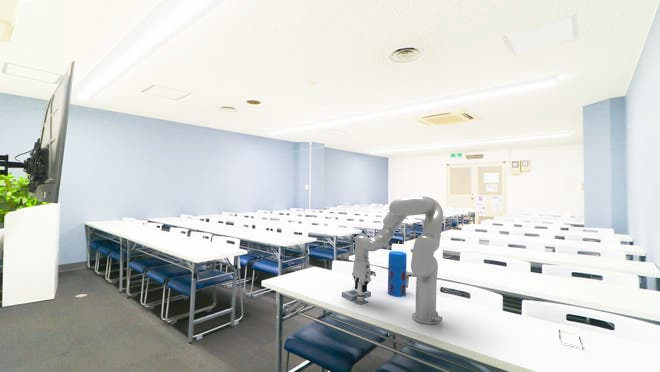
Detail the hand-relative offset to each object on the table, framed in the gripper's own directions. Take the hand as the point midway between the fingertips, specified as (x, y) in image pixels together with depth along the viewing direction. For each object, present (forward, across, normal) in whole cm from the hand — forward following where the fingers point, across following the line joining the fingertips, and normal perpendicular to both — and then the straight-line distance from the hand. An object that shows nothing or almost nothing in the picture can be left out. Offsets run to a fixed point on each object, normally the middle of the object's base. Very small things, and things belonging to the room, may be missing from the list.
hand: (360, 289), depth 163 cm
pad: (+7, 0, 0) cm, 7 cm away
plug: (+6, 0, 0) cm, 6 cm away
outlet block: (+7, +8, -4) cm, 11 cm away
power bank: (+8, -81, -48) cm, 95 cm away
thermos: (+7, -2, -28) cm, 29 cm away
